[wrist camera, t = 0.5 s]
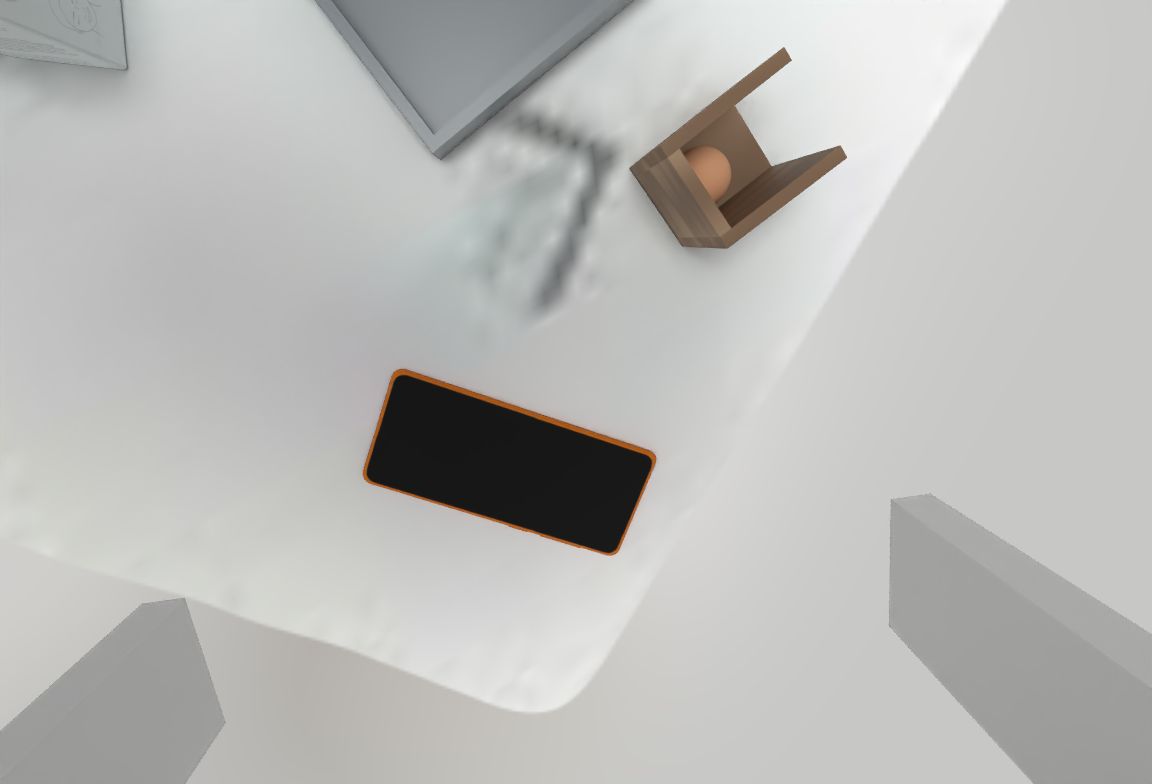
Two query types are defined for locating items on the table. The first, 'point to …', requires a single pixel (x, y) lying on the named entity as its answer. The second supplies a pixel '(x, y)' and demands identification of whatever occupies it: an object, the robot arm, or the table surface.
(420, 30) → the tray
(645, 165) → the brown wooden bin
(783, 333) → the table surface
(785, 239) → the table surface
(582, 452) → the smartphone
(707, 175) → the ball
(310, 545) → the table surface
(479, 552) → the table surface
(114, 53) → the small box
